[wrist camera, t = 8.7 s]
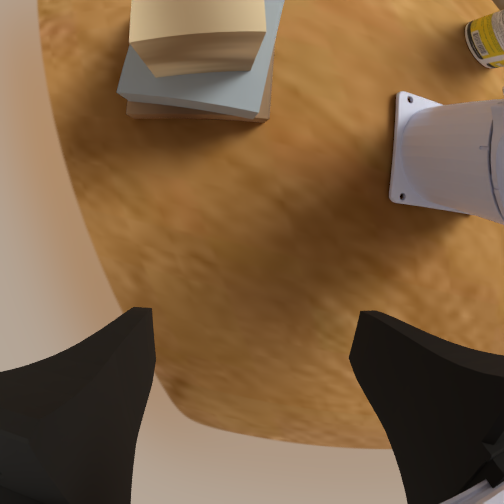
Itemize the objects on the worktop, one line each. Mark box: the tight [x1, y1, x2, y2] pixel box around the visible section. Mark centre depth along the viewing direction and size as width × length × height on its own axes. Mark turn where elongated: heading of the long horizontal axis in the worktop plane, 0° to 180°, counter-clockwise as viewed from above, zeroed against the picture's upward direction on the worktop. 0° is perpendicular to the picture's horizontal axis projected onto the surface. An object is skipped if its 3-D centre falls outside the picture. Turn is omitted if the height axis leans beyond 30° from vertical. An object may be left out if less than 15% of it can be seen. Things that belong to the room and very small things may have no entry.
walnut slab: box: [126, 43, 275, 123], centre depth 16 cm, size 8×8×2 cm
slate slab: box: [116, 0, 284, 119], centre depth 13 cm, size 7×7×2 cm
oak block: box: [129, 0, 267, 78], centre depth 10 cm, size 4×4×5 cm
